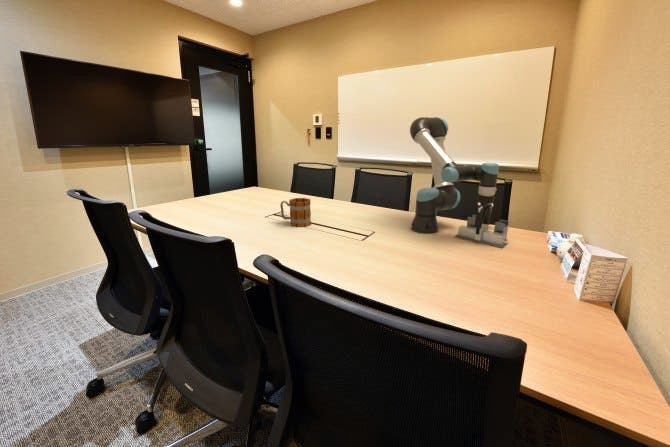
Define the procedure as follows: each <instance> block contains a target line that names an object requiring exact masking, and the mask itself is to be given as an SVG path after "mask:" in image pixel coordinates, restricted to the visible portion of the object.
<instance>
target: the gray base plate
mask: <svg viewBox="0 0 670 447" xmlns="http://www.w3.org/2000/svg"><path fill="white" fill-rule="evenodd" d="M454 238H457V239H458V238H459V239H461V240H465V241H471V242H474V243H478V244H482V245H486V246H491V247H495V248H499V249H503V248H505V247H506V246H507V245H508V242H504V244H503V245H502V246H501V245H496V244H492V243H488V242H484V241H479V240H475V239H471V238H467V237H462V236H458V233H457V234H454Z"/></svg>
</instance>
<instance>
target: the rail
mask: <svg viewBox="0 0 670 447" xmlns="http://www.w3.org/2000/svg"><path fill="white" fill-rule="evenodd" d="M457 230H458V231H457V234H458V236H462V237H467V238H471V239H474V237H475V230H476V228H474V227H469V226H467V225H463V224H461V225H459V226H458V229H457ZM505 236H506V234H502V233H498V232H494V230H488V229H487V230H483V229H482V231H481V238H480V241H484V242H488V243H492V244H496V245H501V246H502V245H503V244H504V242H505V241H506V240H505ZM505 243H506V242H505Z"/></svg>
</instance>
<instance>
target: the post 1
mask: <svg viewBox="0 0 670 447" xmlns="http://www.w3.org/2000/svg"><path fill="white" fill-rule="evenodd" d="M475 219H476V214H472V216H467V221H466V226H469V227H474V225H475ZM474 228H476V227H474Z"/></svg>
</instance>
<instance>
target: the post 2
mask: <svg viewBox="0 0 670 447" xmlns="http://www.w3.org/2000/svg"><path fill="white" fill-rule="evenodd" d="M509 225H510V220H509V221H508V220H504V219H499V220H498V221H495V223H494V229H493V232H498V233H502V234H506V236H505V241H506V240H507V236H508V229H509Z"/></svg>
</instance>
